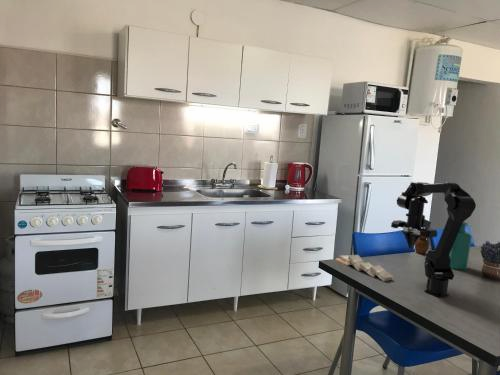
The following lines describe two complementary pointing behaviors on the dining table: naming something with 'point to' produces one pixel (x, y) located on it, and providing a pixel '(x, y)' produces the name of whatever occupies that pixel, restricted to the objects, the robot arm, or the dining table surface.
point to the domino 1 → (342, 261)
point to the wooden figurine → (421, 245)
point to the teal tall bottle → (461, 249)
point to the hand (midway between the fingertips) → (410, 248)
